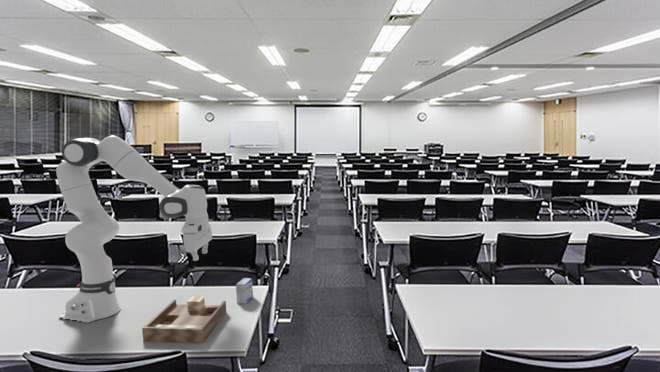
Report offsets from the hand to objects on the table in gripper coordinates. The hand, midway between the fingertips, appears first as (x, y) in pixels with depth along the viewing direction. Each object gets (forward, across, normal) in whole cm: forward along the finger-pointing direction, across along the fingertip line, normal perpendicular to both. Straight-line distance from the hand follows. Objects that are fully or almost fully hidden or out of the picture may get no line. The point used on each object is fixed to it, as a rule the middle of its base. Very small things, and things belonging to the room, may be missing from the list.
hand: (200, 256), depth 181 cm
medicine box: (+23, -8, +15) cm, 28 cm away
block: (+19, +8, 0) cm, 21 cm away
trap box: (+22, +16, 0) cm, 28 cm away
